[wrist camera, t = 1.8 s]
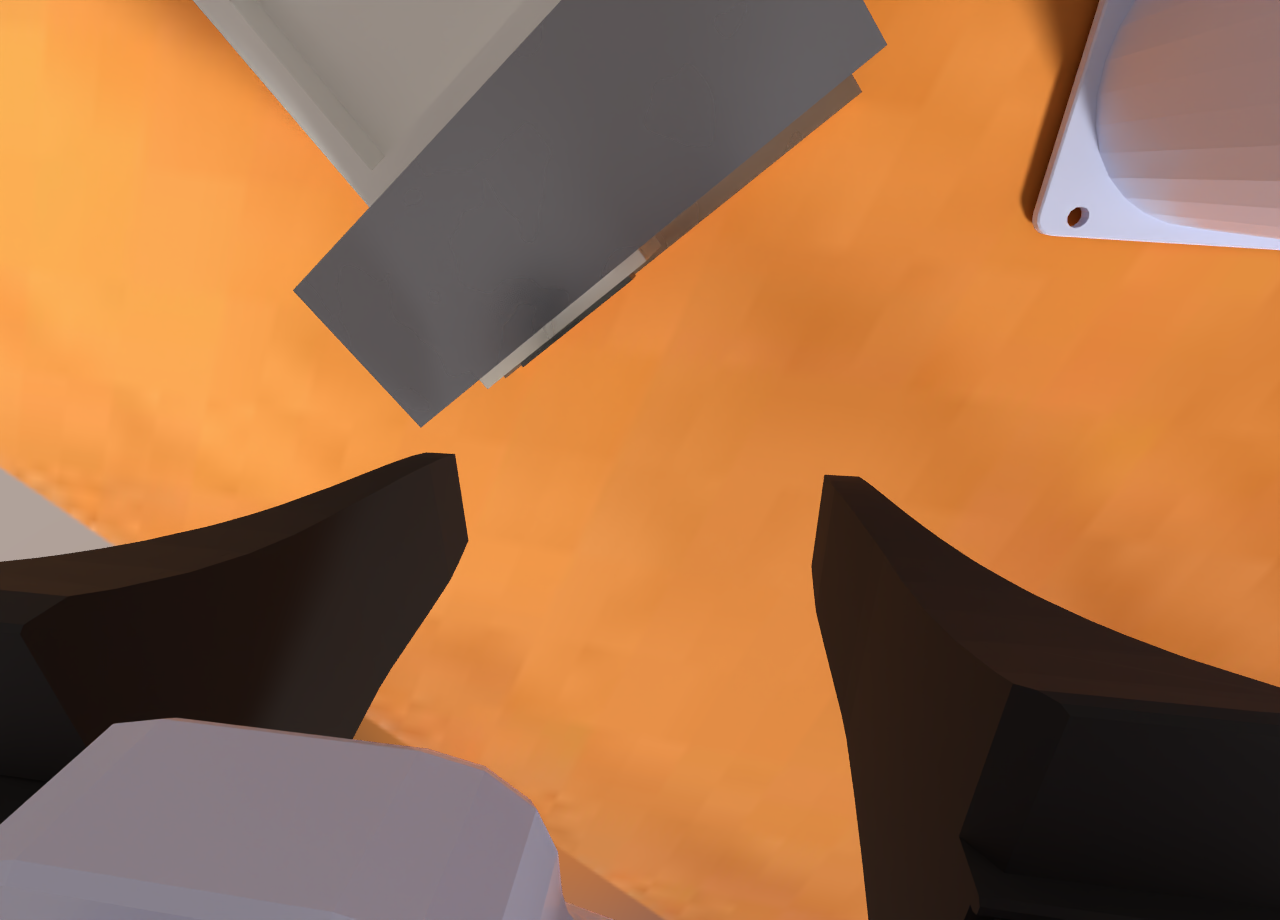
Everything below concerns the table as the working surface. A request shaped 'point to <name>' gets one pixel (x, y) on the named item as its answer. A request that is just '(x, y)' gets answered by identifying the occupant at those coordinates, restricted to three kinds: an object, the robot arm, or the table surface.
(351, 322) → the mounted housing
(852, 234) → the table surface
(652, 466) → the table surface
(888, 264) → the table surface
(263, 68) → the tray
